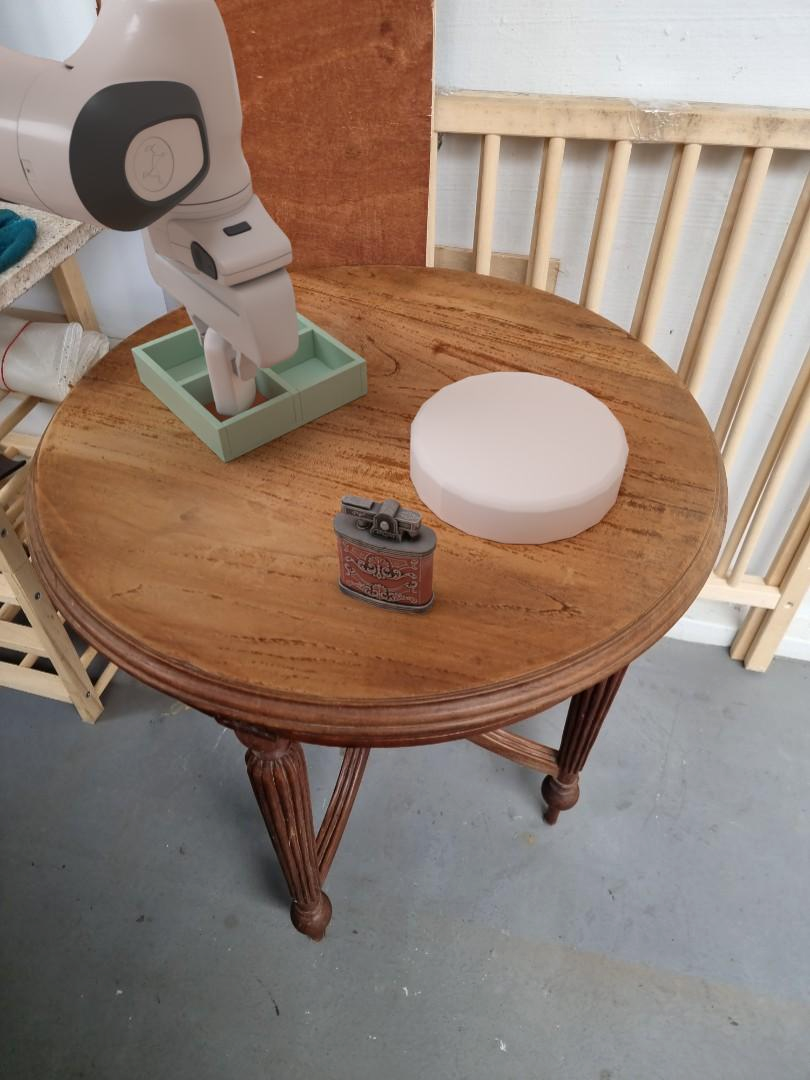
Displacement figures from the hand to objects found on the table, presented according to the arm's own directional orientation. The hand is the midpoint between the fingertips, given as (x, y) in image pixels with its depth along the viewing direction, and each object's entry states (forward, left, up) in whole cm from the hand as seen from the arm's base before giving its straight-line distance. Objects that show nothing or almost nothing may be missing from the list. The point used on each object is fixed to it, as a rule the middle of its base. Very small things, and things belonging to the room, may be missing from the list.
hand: (229, 361), depth 73 cm
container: (+16, -23, -7) cm, 29 cm away
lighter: (-3, -27, -7) cm, 28 cm away
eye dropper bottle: (0, 0, -5) cm, 5 cm away
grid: (+4, +4, -7) cm, 9 cm away
